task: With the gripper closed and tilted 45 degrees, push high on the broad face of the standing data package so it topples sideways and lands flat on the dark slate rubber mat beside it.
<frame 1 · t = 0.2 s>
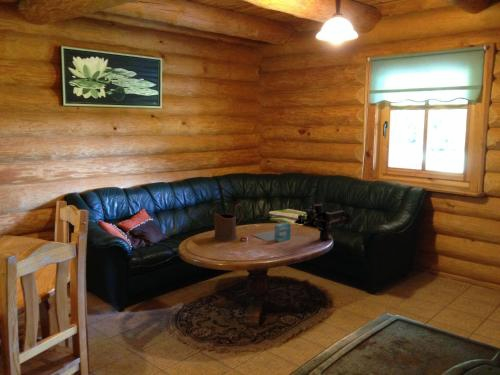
hand: (298, 223, 306), 16 cm above the table, tool horizontal, fingers open, 9 cm apart
slate rubber mat: (271, 235, 333), on the table
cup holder: (228, 238, 329), on the table
data package: (282, 240, 322), on the table
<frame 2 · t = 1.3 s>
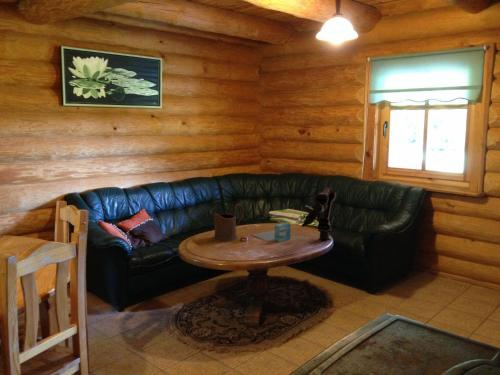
hand: (303, 224, 314), 13 cm above the table, tool tilted 45°, fingers open, 9 cm apart
nothing on the table moved.
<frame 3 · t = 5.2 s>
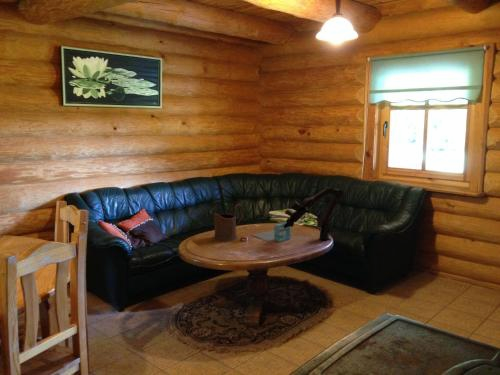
hand: (284, 227, 319), 10 cm above the table, tool tilted 45°, fingers closed
nothing on the table moved.
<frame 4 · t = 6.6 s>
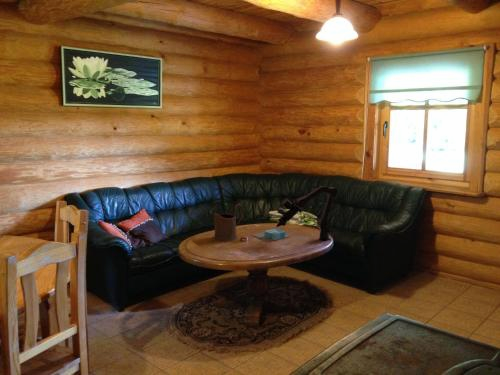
hand: (276, 226, 320), 10 cm above the table, tool tilted 45°, fingers closed
data package: (280, 236, 323), point 3 cm above the table, touching slate rubber mat
everything else where it was.
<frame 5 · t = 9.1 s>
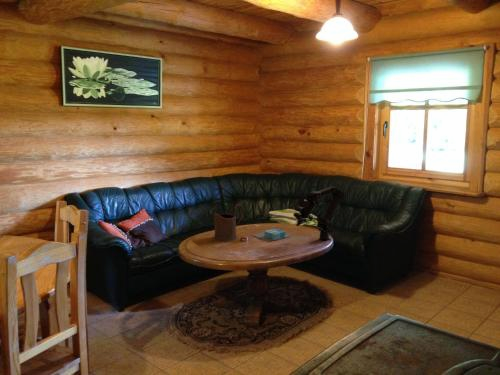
hand: (297, 225, 316), 12 cm above the table, tool tilted 30°, fingers closed
nothing on the table moved.
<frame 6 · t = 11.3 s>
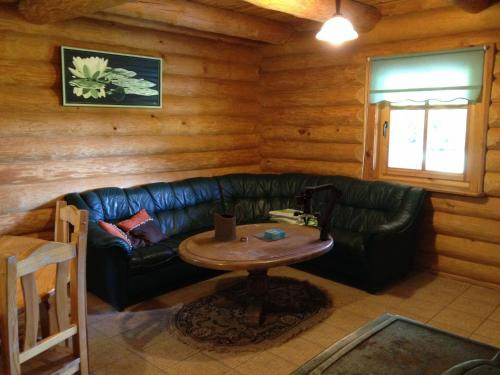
hand: (306, 226, 315), 12 cm above the table, tool pointing down, fingers closed
nothing on the table moved.
at the end: data package tilted 90°; data package touching slate rubber mat; data package moved 3.3 cm from its start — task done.
